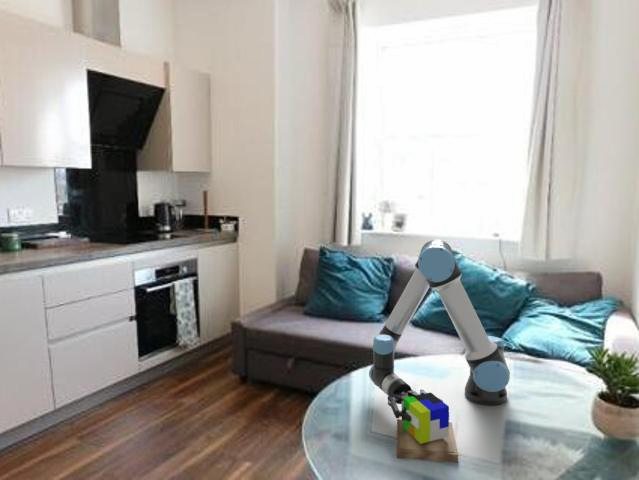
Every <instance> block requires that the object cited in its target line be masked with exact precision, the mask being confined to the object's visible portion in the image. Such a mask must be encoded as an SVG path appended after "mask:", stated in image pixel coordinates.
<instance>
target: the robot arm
mask: <svg viewBox="0 0 639 480" xmlns="http://www.w3.org/2000/svg"><path fill="white" fill-rule="evenodd" d="M453 252H454V251H453V249H452V247H451V245H450V244H448V243H447V242H446V241H444V240H441V239H432V240H430V241H427V242H426V243H424V244H423V246H422V247H421V249H420V252H419V254H418V259H417V261H416V263H415V265H414V268H415V270H414V272H413V274H412V276H411V277H410V279H409V281H408V283H407V284H406V286H405V288H404V289H403V292H402V293H401V295H400V297H399V298H398V300H397V302H396V304H395V305H394V307H393V310H392V311H391V313H390V314H389V317H388V318H387V320H386V322H385V323H384V326H383V327H382V329H381V330H380V331H379V333H378V335H376V336H375V337H374V338H373V343H372V344H373V345H372V350H373V354H372V355H373V365H372V366H371V367H370V368H369V371H368V376H369V379H370V381H372V383H373V384H374V385H375V386H376V387H377V388H379V389H380V390H381V391H382V392H383V393H385V395H387V405H388V406H389V407H391V411H392V413H393V414H394V417H395V418H396V419H400V418H401V419H402V420H407V421H408V422H411V423H412V424H413V425H414V426H415V427H416V428H417V429H418V428H419V419H418V418H417V417H416V416H414V415H413V414H412V413H411V412H410V411H409V410H406V411H405V407H404V398H407V397H412V396H416V395H421V394H426V393H428V392H427V391H426V390H424V389H420V390H419V391H418V392H416V391H415V390H413V389H412V387H411V386H410V385H409V384H408V383H407V382H406V381H404V379H402V378H401V377H399V376H398V375H397V374H396V373H395V351H396V349H397V344H398V342H399V341H400V339H401V338H402V335H403V334H404V331H406V328H407V326H408V325H409V323H410V321H411V319H412V318H413V317H414V315H415V313H416V311H417V309H418V307H419V306H420V305H421V302H422V301H423V299H424V297H425V295H426V294H427V292H428V290H429V289H430V288H431V289H432V290H435V291H437V294H438V296H439V298H440V300H441V302H442V304H443V306H444V308H445V310H446V313H447V314H448V316H449V318H450V319H451V320H450V321H451V322H452V324H453V327H454V328H455V330H456V332H457V335H458V337H459V339H460V340H461V342H462V345H463V346H464V348H465V350H466V352H465V354H464V359H465V361H466V363H467V365H468V367H469V376H468V378H467V381H466V383H465V386H464V395H465V397H466V398H467V399H468V400H469V401H472V402H473V403H476V404H479V405H484V406H498V405H502V404H505V403H506V402H507V400H508V391H507V388H506V387H507V385H508V384H509V383H510V375H511V372H510V369H509V367H508V364H507V360H506V359H505V355H504V353H505V352H504V349H505V345H504V344H505V343H504V340H503V339H502V338H500V337H497V336H493V335H487V332H486V330H485V328H484V326H483V325H482V322H481V320H480V318H479V316H478V314H477V312H476V309H475V308H474V306H473V304H472V301H471V300H470V298H469V295H468V294H467V291H466V289H465V287H464V286H463V283H462V282H461V278H462V275H463V273H462V271H461V269H460V267H459V264H458V263H457V260H456V259H455V257H454V253H453ZM439 399H440V400H441V401H442V402H444V401H443V399H441V398H439ZM398 405H400V407H401V410H400V409H399V407H398Z"/></svg>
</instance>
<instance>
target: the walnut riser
mask: <svg viewBox="0 0 639 480" xmlns="http://www.w3.org/2000/svg"><path fill="white" fill-rule="evenodd" d="M455 437H456V436H455V431H454V428H453V422H449V436H448V437H445V438H441V439H437V440H433V441H429V442H426V443H422V444H420V443H419V442H418V441H417V440H416V439H415V438H414V437H413V436H412V435H411V434H410V433H409V432H408V431H407V430H406V429H405V428H404V420H402V418H396V459H401V460H402V459H403V460H404V459H405V460H419V461H430V462H442V463H443V462H445V463H446V462H447V463H456V464H458V463H459V451H458V446H457V442H456V438H455Z"/></svg>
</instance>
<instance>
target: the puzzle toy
mask: <svg viewBox="0 0 639 480" xmlns="http://www.w3.org/2000/svg"><path fill="white" fill-rule="evenodd" d="M440 399H441V398H440V397H437V396H436V395H435V394H434V393H432V392H427V393H426V394H421V395H416V396H412V397H407V398H404V407H405V411H406V410H409V411H410V412H411V413H412V414H413V415H414V416H416V417H417V418H418V419H419V428H418V429H417V428H416V427H415V426H414V425H413V424H412V423H411V422H408V421H407V420H404V428H405V429H406V430H407V431H408V432H409V433H410V434H411V435H412V436H413V437H414V438H415V439H416V440H417V441H418V442H419V443H420V444H422V443H426V442H429V441H433V440H437V439H441V438H445V437H448V436H449V421H450V406H449V405H448V404H447V403H445V402H444V401H443V402H442V401H441V400H440Z"/></svg>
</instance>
